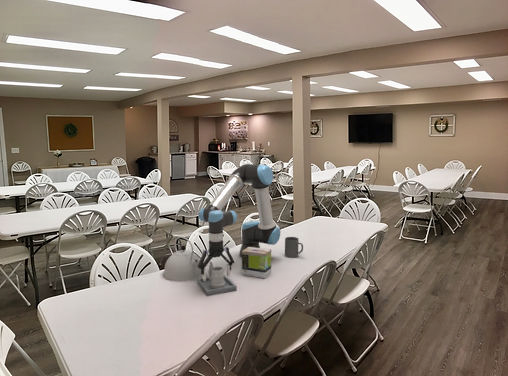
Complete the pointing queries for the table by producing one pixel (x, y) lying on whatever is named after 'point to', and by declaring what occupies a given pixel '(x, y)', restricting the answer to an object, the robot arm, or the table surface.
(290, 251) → the mug
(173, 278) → the kettle
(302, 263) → the table surface
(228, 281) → the tray
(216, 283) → the mug
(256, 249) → the tea box
